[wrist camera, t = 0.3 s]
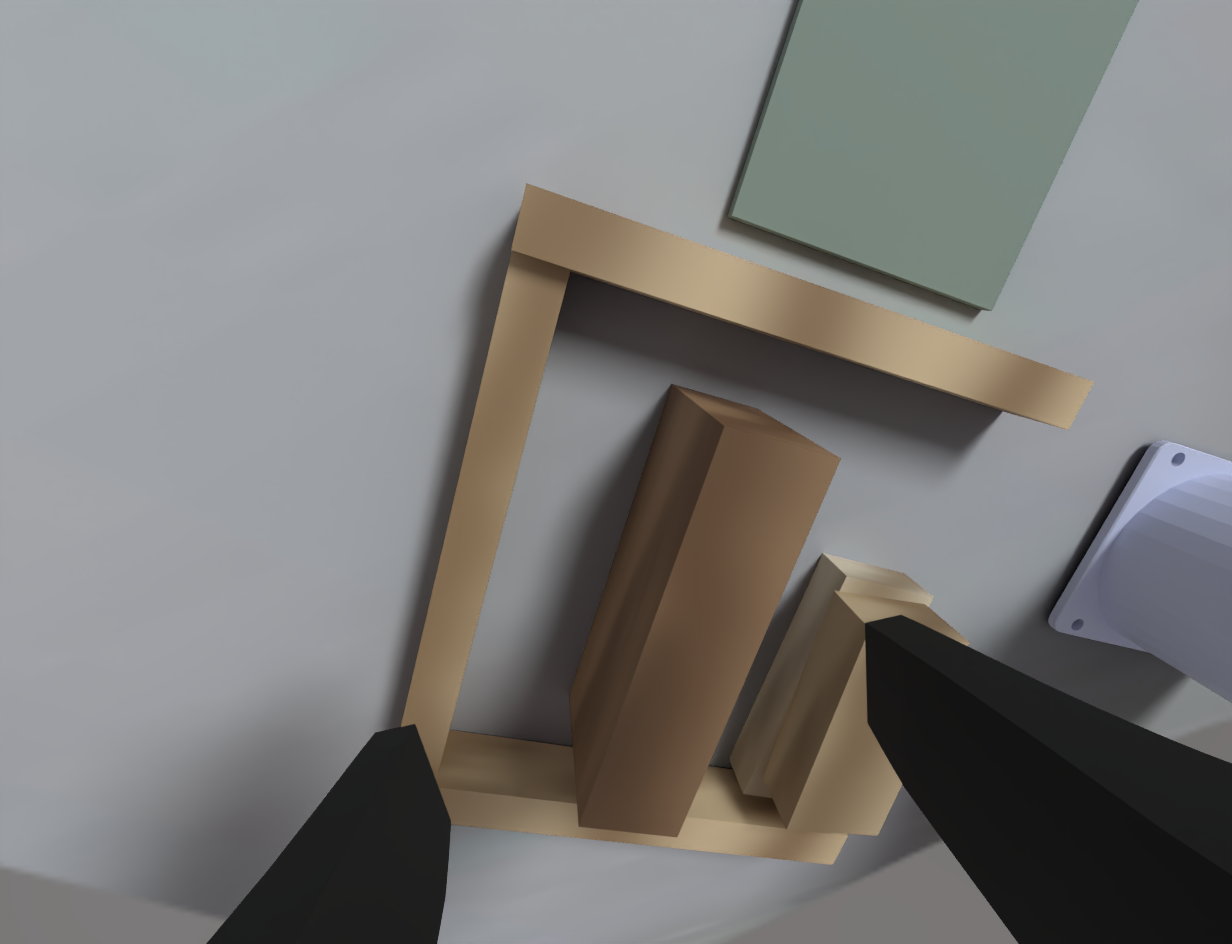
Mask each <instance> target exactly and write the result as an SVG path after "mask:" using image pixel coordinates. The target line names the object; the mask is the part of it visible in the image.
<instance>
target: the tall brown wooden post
mask: <svg viewBox="0 0 1232 944" xmlns="http://www.w3.org/2000/svg"><path fill="white" fill-rule="evenodd" d="M840 460H841V458H839V457H837V456H836V455H834V454H832V453H831V452H829V451H827V450H825V449H824V448H822V447H820V446H819V445H817V444H815V443H814V442H812V441H810V440H809V439H807V438H805V437H804V436H802V435H800V434H799V433H797V432H795V431H794V430H792V429H790V428H789V427H787V426H785V425H784V424H782V423H780V422H779V421H777V420H775V419H774V418H772V417H770V416H769V415H767V414H765V413H764V412H762V411H760V410H759V409H756V408H753V407H749V406H746V405H742V404H739V403H735V402H732V401H729V400H725V399H722V398H718V397H715V396H711V395H708V394H704V393H701V392H697V391H694V390H691V389H687V388H684V387H680V386H677V385H673V384H672V385H671V388H670V391H669V394H668V397H667V400H666V403H665V406H664V409H663V412H662V415H661V418H660V421H659V424H658V427H657V430H656V433H655V436H654V439H653V442H652V445H651V448H650V451H649V454H648V458H647V461H646V464H645V467H644V470H643V473H642V476H641V479H640V482H639V485H638V488H637V491H636V494H635V497H634V500H633V503H632V506H631V509H630V512H629V515H628V518H627V521H626V524H625V527H624V530H623V533H622V536H621V539H620V542H619V545H618V549H617V552H616V555H615V558H614V561H613V564H612V567H611V570H610V573H609V576H608V579H607V582H606V585H605V588H604V591H603V594H602V597H601V600H600V603H599V606H598V609H597V612H596V615H595V618H594V621H593V624H592V627H591V630H590V633H589V636H588V640H587V643H586V646H585V649H584V652H583V655H582V658H581V661H580V664H579V667H578V670H577V673H576V676H575V679H574V682H573V685H572V688H571V691H570V694H569V702H570V715H571V729H572V743H573V757H574V770H575V784H576V798H577V812H578V825H579V827H585V828H594V829H603V830H613V831H622V832H631V833H640V834H649V835H659V836H668V837H678V835H679V832H680V830H681V828H682V826H683V823H684V821H685V819H686V816H687V814H688V812H689V809H690V807H691V805H692V802H693V800H694V798H695V795H696V793H697V791H698V788H699V786H700V784H701V782H702V779H703V777H704V775H705V772H706V770H707V768H708V765H709V763H710V761H711V758H712V756H713V754H714V751H715V749H716V747H717V744H718V742H719V740H720V738H721V735H722V733H723V731H724V728H725V726H726V724H727V721H728V719H729V717H730V714H731V712H732V710H733V707H734V705H735V703H736V700H737V698H738V696H739V694H740V691H741V689H742V687H743V684H744V682H745V680H746V677H747V675H748V673H749V670H750V668H751V666H752V663H753V661H754V659H755V656H756V654H757V652H758V650H759V647H760V645H761V643H762V640H763V638H764V636H765V633H766V631H767V629H768V626H769V624H770V622H771V619H772V617H773V615H774V612H775V610H776V608H777V606H778V603H779V601H780V599H781V596H782V594H783V592H784V589H785V587H786V585H787V582H788V580H789V578H790V575H791V573H792V571H793V568H794V566H795V564H796V562H797V559H798V557H799V555H800V552H801V550H802V548H803V545H804V543H805V541H806V538H807V536H808V534H809V531H810V529H811V527H812V524H813V522H814V520H815V518H816V515H817V513H818V511H819V508H820V506H821V504H822V501H823V499H824V497H825V494H826V492H827V490H828V487H829V485H830V483H831V480H832V478H833V476H834V474H835V471H836V469H837V467H838V464H839V462H840Z"/></svg>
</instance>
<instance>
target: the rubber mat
mask: <svg viewBox="0 0 1232 944" xmlns="http://www.w3.org/2000/svg"><path fill="white" fill-rule="evenodd" d="M1138 1H1139V0H799V1H798V5H797V8H796V11H795V14H794V17H793V20H792V23H791V26H790V29H789V32H788V35H787V38H786V41H785V44H784V47H783V50H782V53H781V56H780V59H779V62H778V65H777V68H776V71H775V74H774V77H773V80H772V83H771V86H770V89H769V92H768V95H767V98H766V101H765V104H764V107H763V111H762V114H761V117H760V120H759V123H758V126H757V129H756V132H755V135H754V138H753V141H752V144H751V147H750V150H749V153H748V156H747V159H746V162H745V165H744V168H743V171H742V174H741V177H740V180H739V183H738V186H737V189H736V192H735V195H734V198H733V201H732V204H731V207H730V210H729V214H728V217H729V218H732V219H734V220H737V221H740V222H743V223H745V224H748V225H751V226H753V227H756V228H759V229H762V230H764V231H767V232H770V233H773V234H775V235H778V236H781V237H784V238H786V239H789V240H792V241H795V242H797V243H800V244H803V245H805V246H808V247H811V248H814V249H816V250H819V251H822V252H825V253H827V254H830V255H833V256H836V257H838V258H841V259H844V260H847V261H849V262H852V263H855V264H858V265H860V266H863V267H866V268H868V269H871V270H874V271H877V272H879V273H882V274H885V275H888V276H890V277H893V278H896V279H899V280H901V281H904V282H907V283H910V284H912V285H915V286H918V287H920V288H923V289H926V290H929V291H931V292H934V293H937V294H940V295H942V296H945V297H948V298H951V299H953V300H956V301H959V302H962V303H964V304H967V305H970V306H973V307H975V308H978V309H981V310H987V311H992V309H993V307H994V305H995V303H996V301H997V299H998V297H999V295H1000V293H1001V290H1002V288H1003V286H1004V284H1005V282H1006V280H1007V278H1008V276H1009V274H1010V271H1011V269H1012V267H1013V265H1014V263H1015V261H1016V259H1017V257H1018V255H1019V252H1020V250H1021V248H1022V246H1023V244H1024V242H1025V240H1026V238H1027V236H1028V233H1029V231H1030V229H1031V227H1032V225H1033V223H1034V221H1035V219H1036V217H1037V214H1038V212H1039V210H1040V208H1041V206H1042V204H1043V202H1044V200H1045V198H1046V195H1047V193H1048V191H1049V189H1050V187H1051V185H1052V183H1053V181H1054V179H1055V176H1056V174H1057V172H1058V170H1059V168H1060V166H1061V164H1062V162H1063V160H1064V157H1065V155H1066V153H1067V151H1068V149H1069V147H1070V145H1071V143H1072V141H1073V138H1074V136H1075V134H1076V132H1077V130H1078V128H1079V126H1080V124H1081V122H1082V119H1083V117H1084V115H1085V113H1086V111H1087V109H1088V107H1089V105H1090V103H1091V100H1092V98H1093V96H1094V94H1095V92H1096V90H1097V88H1098V86H1099V84H1100V81H1101V79H1102V77H1103V75H1104V73H1105V71H1106V69H1107V67H1108V65H1109V62H1110V60H1111V58H1112V56H1113V54H1114V52H1115V50H1116V48H1117V46H1118V43H1119V41H1120V39H1121V37H1122V35H1123V33H1124V31H1125V29H1126V27H1127V24H1128V22H1129V20H1130V18H1131V16H1132V14H1133V12H1134V10H1135V8H1136V5H1137V3H1138Z"/></svg>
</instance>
